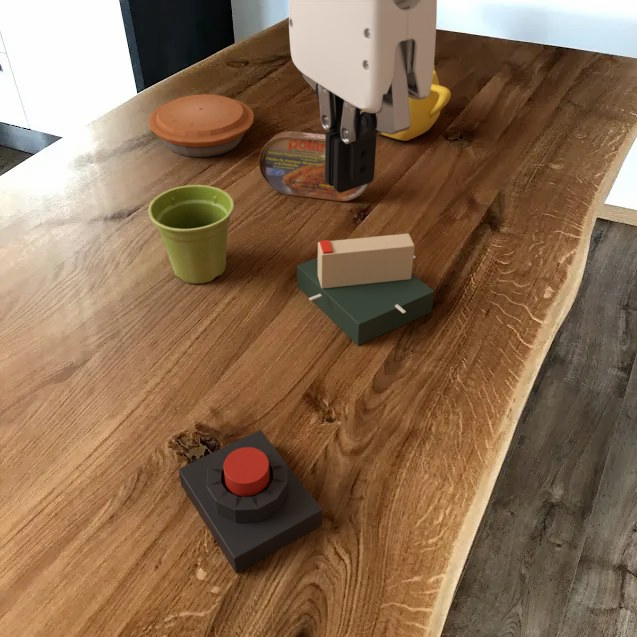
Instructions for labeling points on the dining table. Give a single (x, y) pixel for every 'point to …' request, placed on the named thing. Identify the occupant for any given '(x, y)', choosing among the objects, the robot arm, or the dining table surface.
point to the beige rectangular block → (365, 260)
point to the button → (246, 471)
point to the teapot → (424, 111)
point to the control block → (250, 505)
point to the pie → (201, 124)
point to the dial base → (367, 303)
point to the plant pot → (194, 230)
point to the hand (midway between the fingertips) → (349, 182)
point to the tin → (300, 167)
